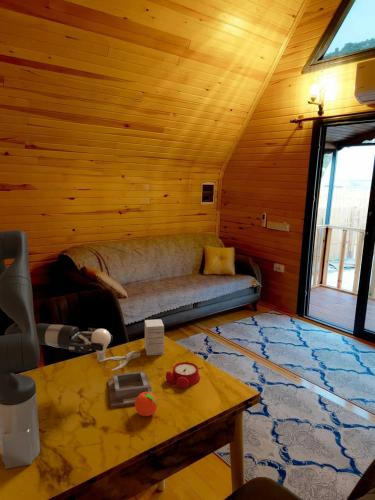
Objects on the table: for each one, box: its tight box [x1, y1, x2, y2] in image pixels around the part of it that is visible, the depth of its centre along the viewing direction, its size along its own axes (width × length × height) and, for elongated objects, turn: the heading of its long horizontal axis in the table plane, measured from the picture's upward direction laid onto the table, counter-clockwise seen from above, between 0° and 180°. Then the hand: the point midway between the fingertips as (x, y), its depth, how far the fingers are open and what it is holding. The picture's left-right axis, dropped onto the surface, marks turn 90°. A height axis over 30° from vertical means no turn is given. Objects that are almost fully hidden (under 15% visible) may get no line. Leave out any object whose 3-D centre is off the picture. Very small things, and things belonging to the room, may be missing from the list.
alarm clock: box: [165, 361, 204, 389], centre depth 133 cm, size 10×6×15 cm
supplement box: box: [144, 319, 165, 356], centre depth 154 cm, size 7×7×13 cm
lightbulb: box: [91, 328, 111, 361], centre depth 123 cm, size 6×6×11 cm
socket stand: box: [107, 370, 154, 409], centre depth 126 cm, size 16×14×4 cm
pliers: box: [98, 350, 141, 372], centre depth 147 cm, size 10×2×15 cm
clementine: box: [134, 392, 158, 417], centre depth 114 cm, size 8×7×7 cm
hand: (107, 342), depth 122 cm, fingers closed on lightbulb, 6 cm apart
